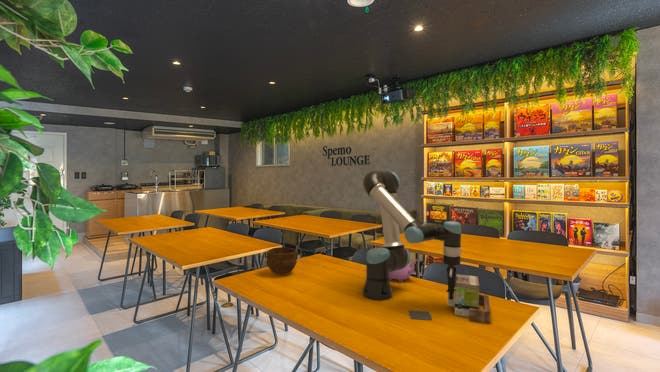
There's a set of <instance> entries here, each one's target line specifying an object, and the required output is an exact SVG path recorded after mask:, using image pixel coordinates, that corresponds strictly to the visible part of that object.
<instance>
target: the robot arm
mask: <svg viewBox="0 0 660 372" xmlns="http://www.w3.org/2000/svg"><path fill="white" fill-rule="evenodd" d="M400 180H401V179H400V177H399V176H398V174H396V172H394V171H390V170H371V171H369V172H367V173H366V174H365V175H364V177H363V179H362V187H363V189H364V192H365V193H366V194H367V195H368V197H369V198H370V199H374V200H375V201H376V202H377V204H378V205H379V207H380V215H381V223H382V230H383V239H384V243H383V244H382V247H374V248H370V249H369V250H368V251H367V252H366V257H365V260H366V262H365V264H366V265H365V266H366V268H365V270H366V272H365V273H366V277H365V278H366V279H365V283H364V285H363V289H362V296H364V297H365V298H366V299H370V300H375V301H376V300H377V301H385V300H389V299H391V298H393V289H392V286H391V282H390V280H389V272H392V271H396V270H401V269H403V268H405V267H406V266H407V265H408V264H409V265H410V262H411V254H410V251H409V250H408V249H407V248H406V247H405V243H404V242H402V241H401V240H402V239H401V234H400V228H401V229H402V230H403V232H404V238H405V240H406V241H407V243H410V244H421V243H424V242H429V241H432V240H433V241H435V240H436V241H440V242H443V246H442V247H443V250H442V253H443V257H442V259H443V260H442V262H443V264H445V265H448V266H447V268H446V272H447V289H446V291H445V292H447V306H450V307H455V281H456V274H457V267H456V266H460V265H461V258H462V257H461V255H462V254H461V252H462V251H463V249H462V248H461V247H462V246H461V244H462V243H461V241H462V225H461V223H460V222H458V221H453V220H452V221H451V220H450V221H446V220H445V221H444V222H443V224H438V223H437V224H436V223H432V222H424V223H423V222H422V224H420V223H419V222H418V221H417V220H416V219H415V218H414V217H413V216H412V214H410V213H409V212H408V211H407V210H406V209H405V208H404V207H403V206H402V204H401V203H400V202H399V201H397V199H396V197H397V195H398V190H399V188H400V186H401V181H400Z"/></svg>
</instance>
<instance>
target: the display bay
mask: <svg viewBox="0 0 660 372" xmlns="http://www.w3.org/2000/svg"><path fill="white" fill-rule="evenodd" d="M479 306H482V307H483V309H481V308H478V309H473V308H469V317H468V318H469V319H468V321H469V322H475V323H480V324H491V307H490V298H489V295H488V294H487V295H486V294H482V293H479Z"/></svg>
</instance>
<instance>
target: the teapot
mask: <svg viewBox="0 0 660 372" xmlns="http://www.w3.org/2000/svg"><path fill="white" fill-rule="evenodd" d="M417 261H418V259H414V260H412V261H411V265H410V263H409V264H408V265H407V266H406V267H405V268H403V269H401V270H396V271H392V272H389V281H392V279H393V280H397V281H398V283H403V282H404V280H409V278H410V277H411V276H412V274H413V273H414V271H415V268H416V266H415V265H416V262H417Z"/></svg>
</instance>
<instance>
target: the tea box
mask: <svg viewBox="0 0 660 372" xmlns="http://www.w3.org/2000/svg"><path fill="white" fill-rule="evenodd" d="M454 286H455V288H454V289H455V291H454V316H460V317H467V318H469V308H473V309H480V308H479V306H480V305H479V294H480V282H479V276H476V275H475V276H474V275H467V274H457V273H456V276H455V284H454Z"/></svg>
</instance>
